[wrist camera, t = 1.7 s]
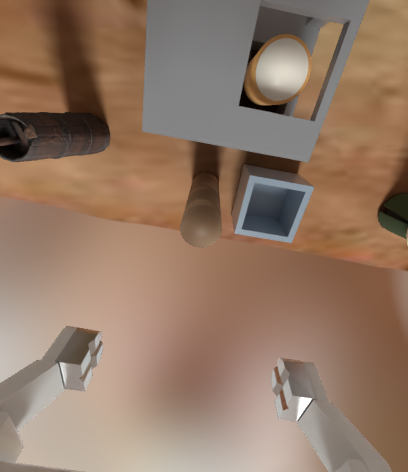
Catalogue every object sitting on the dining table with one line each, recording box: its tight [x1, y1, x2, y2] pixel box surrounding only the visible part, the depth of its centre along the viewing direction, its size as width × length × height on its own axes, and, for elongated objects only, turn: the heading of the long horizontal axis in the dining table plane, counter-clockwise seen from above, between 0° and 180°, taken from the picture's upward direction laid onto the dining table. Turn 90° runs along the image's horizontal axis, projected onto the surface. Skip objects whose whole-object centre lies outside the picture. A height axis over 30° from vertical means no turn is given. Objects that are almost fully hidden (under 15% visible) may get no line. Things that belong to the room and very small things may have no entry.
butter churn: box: [0, 112, 110, 162], centre depth 20 cm, size 9×10×28 cm
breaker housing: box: [142, 0, 369, 162], centre depth 23 cm, size 15×13×13 cm
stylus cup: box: [231, 164, 314, 243], centre depth 33 cm, size 8×8×6 cm
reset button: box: [243, 34, 311, 105], centre depth 23 cm, size 5×5×7 cm
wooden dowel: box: [180, 172, 222, 247], centre depth 29 cm, size 4×4×15 cm
